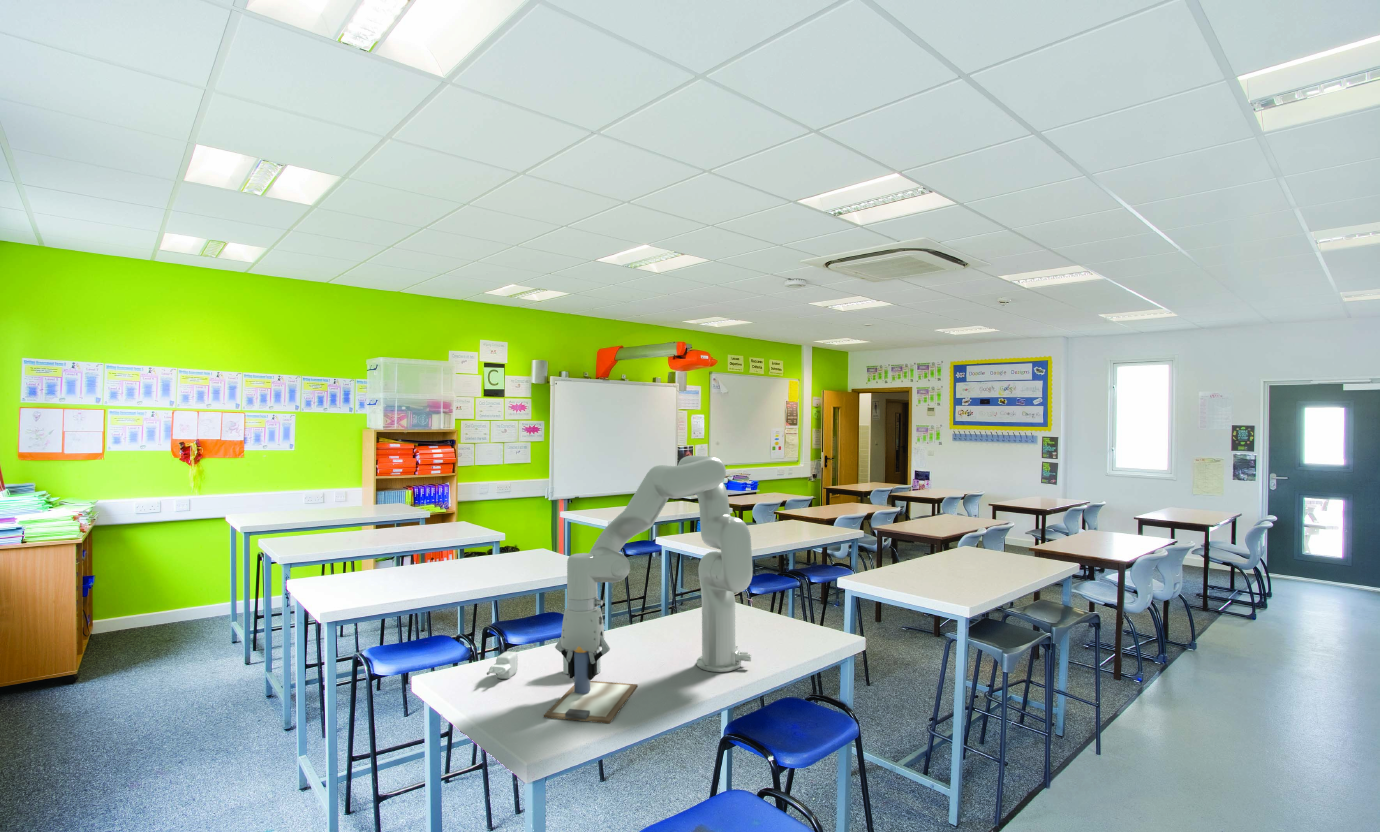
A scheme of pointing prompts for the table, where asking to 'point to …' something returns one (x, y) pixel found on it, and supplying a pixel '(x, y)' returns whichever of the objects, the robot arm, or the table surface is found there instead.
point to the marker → (581, 671)
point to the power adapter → (505, 665)
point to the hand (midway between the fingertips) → (582, 676)
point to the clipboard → (592, 702)
